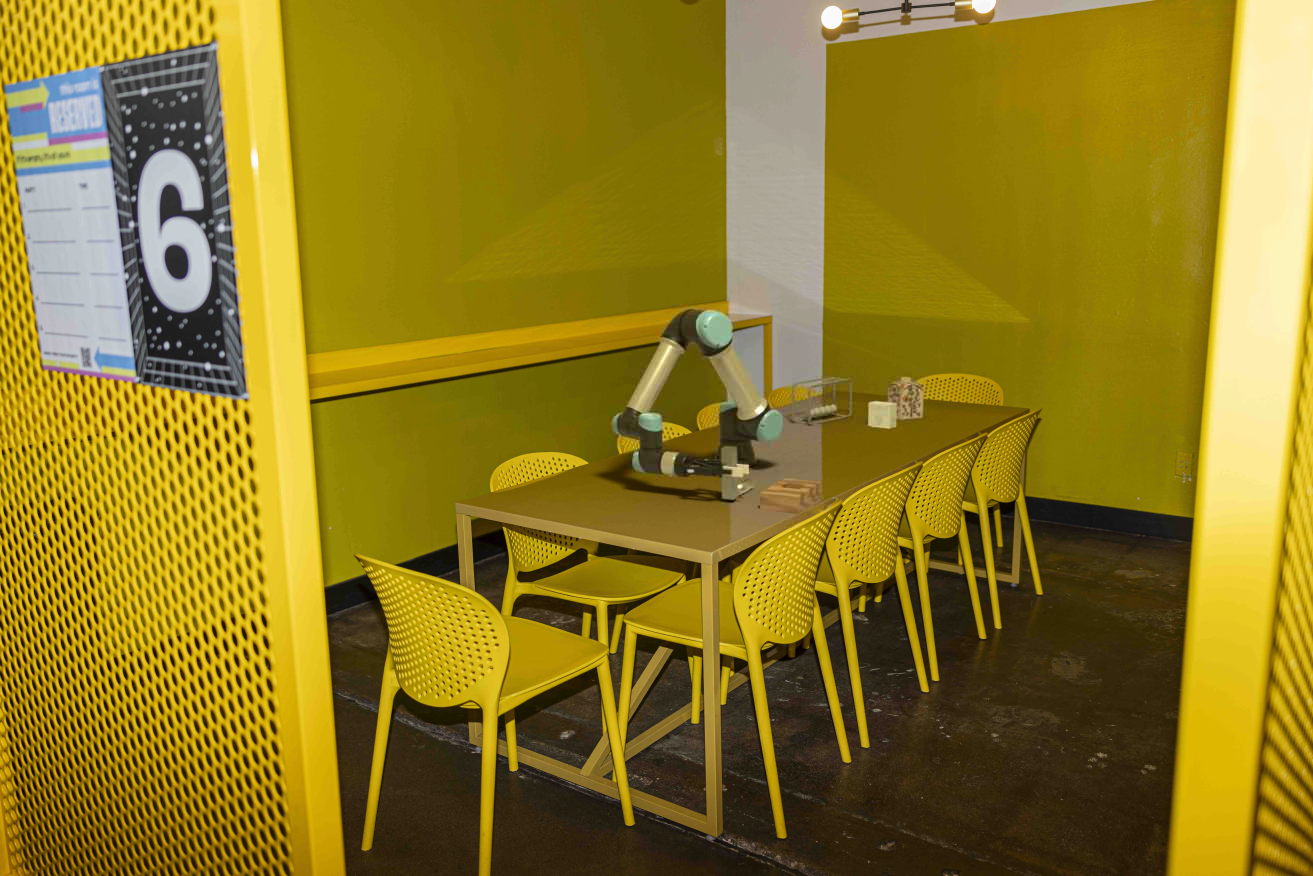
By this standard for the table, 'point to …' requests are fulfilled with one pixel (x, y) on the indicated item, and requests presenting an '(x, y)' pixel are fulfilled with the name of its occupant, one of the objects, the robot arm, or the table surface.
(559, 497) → the table surface
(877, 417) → the skincare box
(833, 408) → the newton's cradle
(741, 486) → the round bit
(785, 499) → the holder block
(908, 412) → the decorative jar
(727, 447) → the square bit
